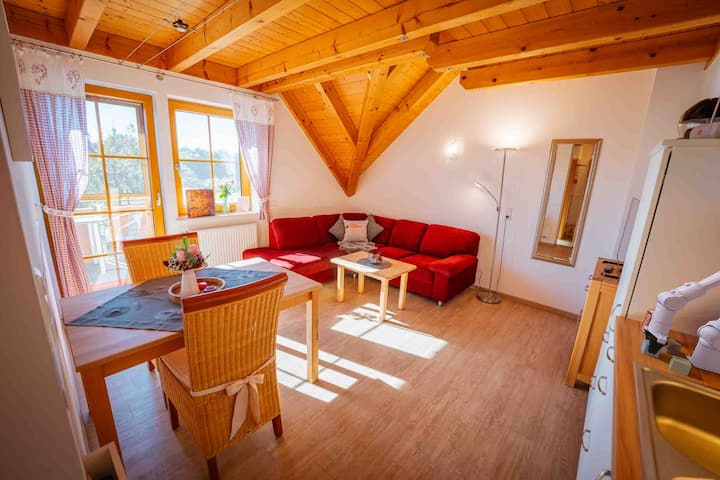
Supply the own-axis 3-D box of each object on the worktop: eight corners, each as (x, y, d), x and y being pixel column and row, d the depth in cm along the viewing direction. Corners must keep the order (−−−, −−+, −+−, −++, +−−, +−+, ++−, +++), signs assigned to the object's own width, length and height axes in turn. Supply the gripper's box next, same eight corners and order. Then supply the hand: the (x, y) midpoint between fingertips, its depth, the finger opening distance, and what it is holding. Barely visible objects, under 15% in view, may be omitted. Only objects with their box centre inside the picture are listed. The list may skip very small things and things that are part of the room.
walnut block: (668, 348, 124) (672, 339, 123) (677, 354, 120) (682, 345, 119) (656, 346, 125) (660, 337, 123) (665, 353, 120) (669, 344, 119)
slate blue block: (640, 348, 123) (643, 338, 121) (654, 352, 120) (658, 343, 119) (642, 353, 119) (646, 344, 118) (657, 358, 117) (661, 348, 115)
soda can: (636, 330, 136) (645, 307, 133) (647, 331, 136) (656, 308, 133) (646, 337, 131) (656, 313, 128) (658, 337, 131) (667, 314, 128)
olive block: (685, 370, 110) (689, 360, 109) (686, 376, 107) (691, 366, 106) (668, 364, 113) (672, 354, 112) (669, 370, 110) (674, 360, 109)
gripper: (644, 310, 123) (633, 337, 127) (652, 325, 112) (641, 355, 115) (666, 316, 120) (655, 344, 123) (678, 332, 108) (665, 362, 112)
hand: (650, 349), depth 119 cm, fingers closed on slate blue block, 4 cm apart
